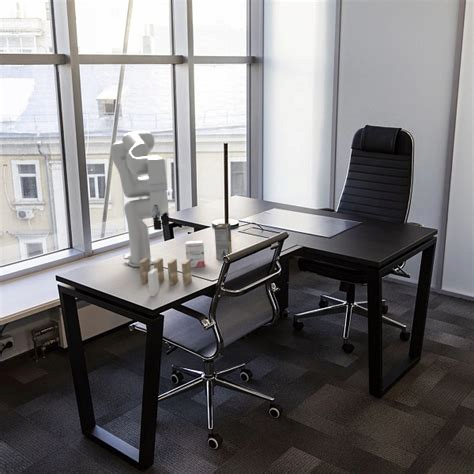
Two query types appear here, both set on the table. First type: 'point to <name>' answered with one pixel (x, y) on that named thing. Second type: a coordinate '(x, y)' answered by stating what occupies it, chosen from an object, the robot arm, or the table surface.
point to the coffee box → (223, 240)
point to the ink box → (195, 253)
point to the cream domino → (153, 282)
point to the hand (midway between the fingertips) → (161, 226)
